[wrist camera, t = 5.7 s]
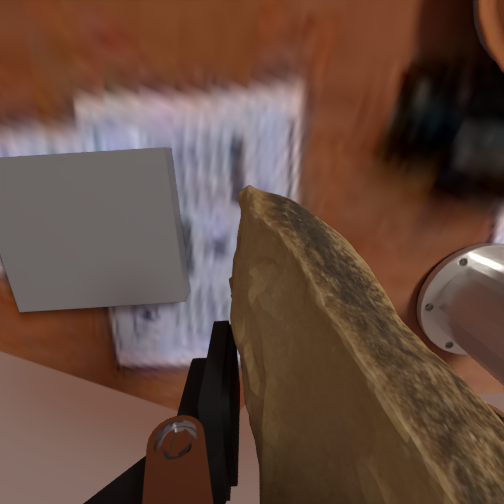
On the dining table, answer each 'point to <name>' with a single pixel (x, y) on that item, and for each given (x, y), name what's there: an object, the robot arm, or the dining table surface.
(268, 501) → the rock
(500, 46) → the pie
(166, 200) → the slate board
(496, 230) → the dining table surface
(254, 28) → the dining table surface
